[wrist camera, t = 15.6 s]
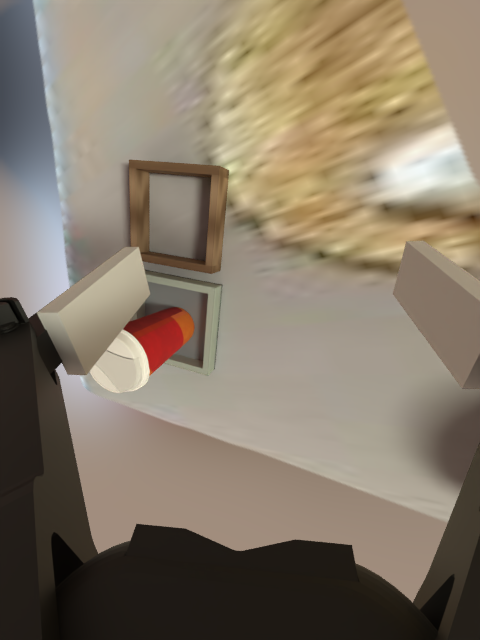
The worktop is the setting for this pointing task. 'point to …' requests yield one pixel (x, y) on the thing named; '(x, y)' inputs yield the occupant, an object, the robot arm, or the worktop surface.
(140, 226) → the walnut tray
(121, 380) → the coffee cup
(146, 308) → the green square tray
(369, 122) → the worktop surface
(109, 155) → the worktop surface
